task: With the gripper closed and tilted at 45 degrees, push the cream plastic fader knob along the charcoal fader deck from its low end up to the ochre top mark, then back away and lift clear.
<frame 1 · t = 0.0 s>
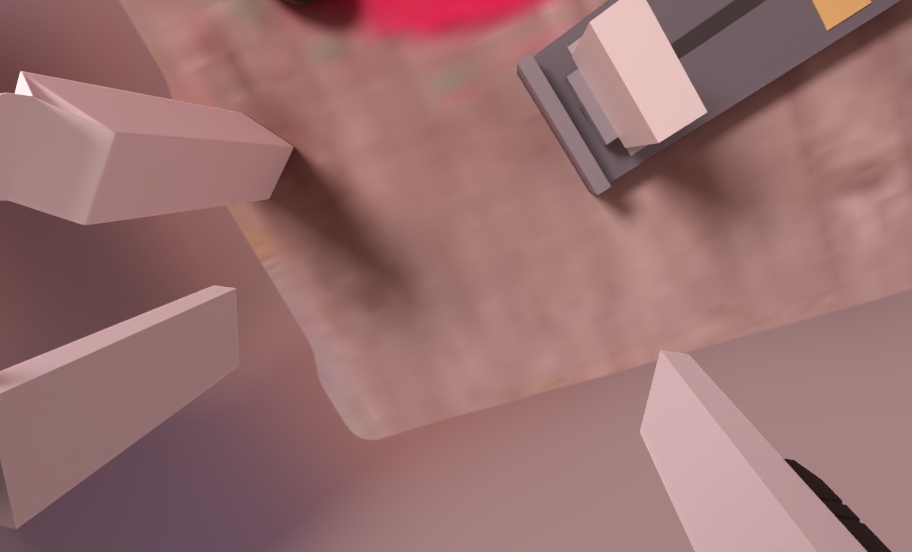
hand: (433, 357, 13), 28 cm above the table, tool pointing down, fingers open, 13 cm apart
fader deck: (696, 36, 34), on the table
fader knob: (627, 82, 29), point 7 cm above the table, slide at -8.0 cm
milk: (257, 157, 41), on the table
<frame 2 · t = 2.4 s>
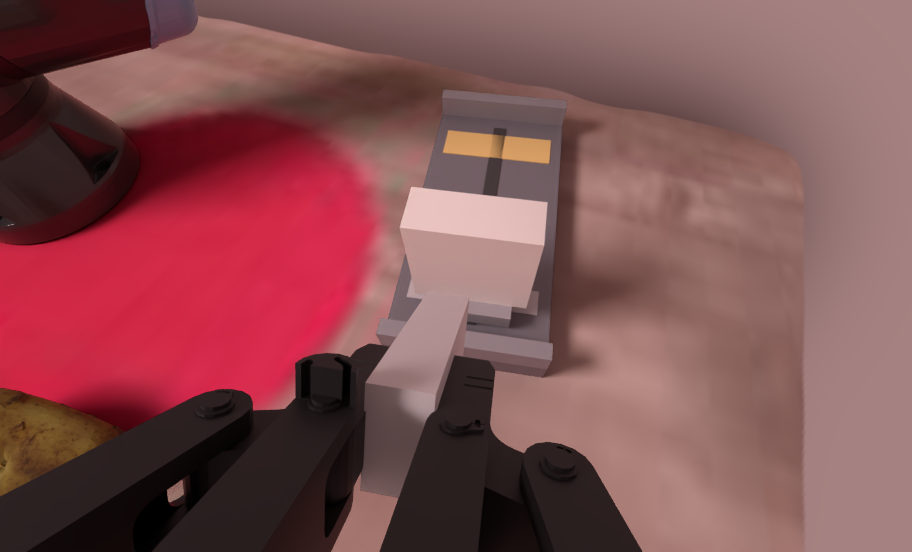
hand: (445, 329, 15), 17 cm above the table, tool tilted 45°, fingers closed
fader deck: (485, 226, 38), on the table
fader knob: (473, 259, 28), point 7 cm above the table, slide at -8.0 cm
potato: (54, 463, 29), on the table
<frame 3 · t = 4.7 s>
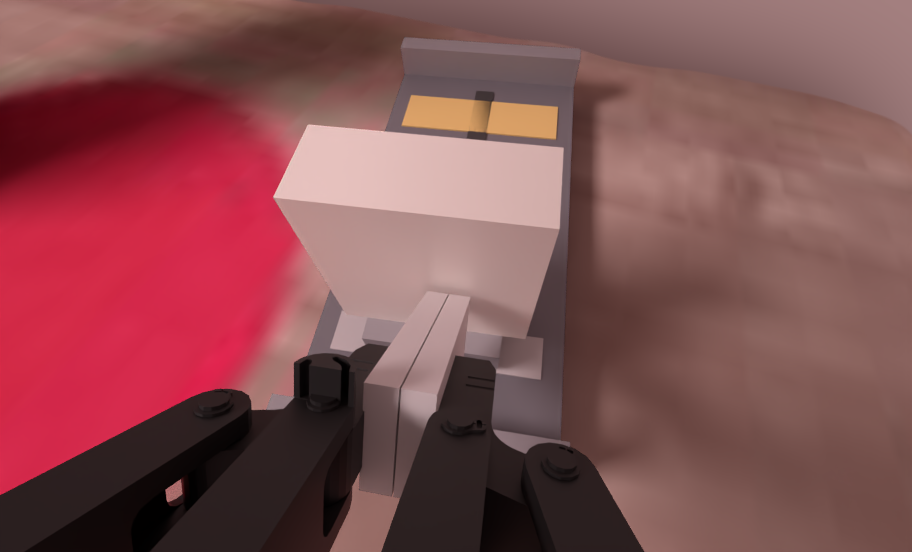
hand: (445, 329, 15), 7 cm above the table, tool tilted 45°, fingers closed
fader deck: (462, 232, 26), on the table
fader knob: (434, 258, 16), point 7 cm above the table, slide at -6.4 cm
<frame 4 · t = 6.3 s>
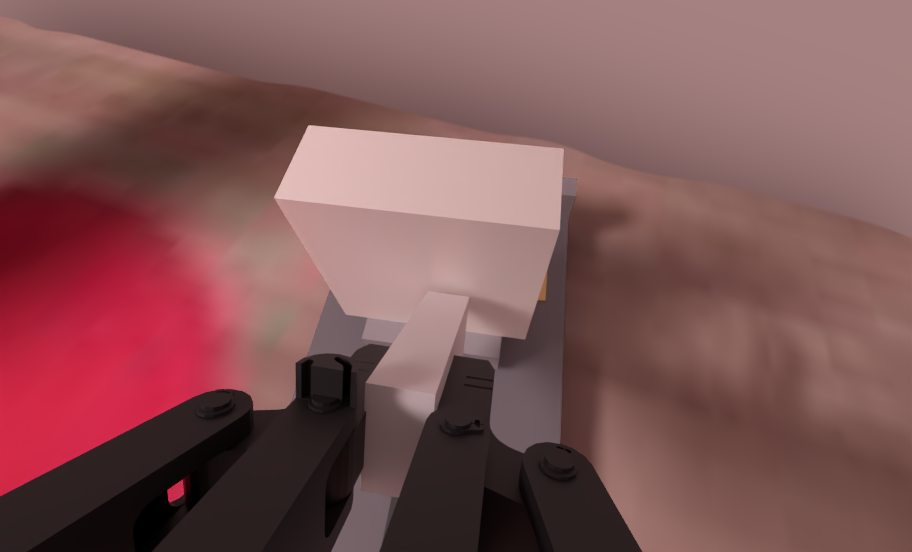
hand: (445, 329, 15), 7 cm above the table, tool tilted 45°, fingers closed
fader deck: (426, 426, 20), on the table
fader knob: (434, 259, 16), point 7 cm above the table, slide at 5.0 cm, touching gripper
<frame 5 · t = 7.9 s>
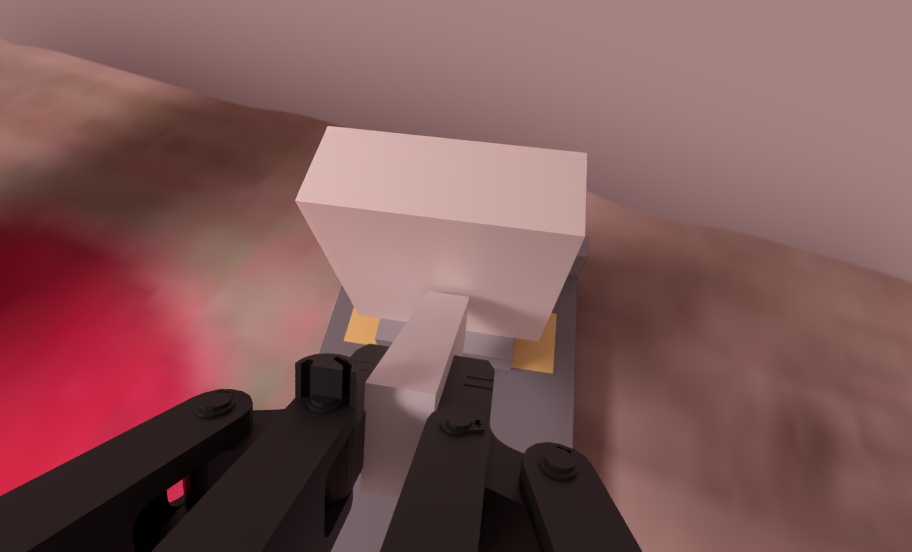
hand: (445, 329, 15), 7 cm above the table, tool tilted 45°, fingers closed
fader deck: (421, 512, 19), on the table
fader knob: (450, 260, 16), point 7 cm above the table, slide at 8.7 cm, touching gripper
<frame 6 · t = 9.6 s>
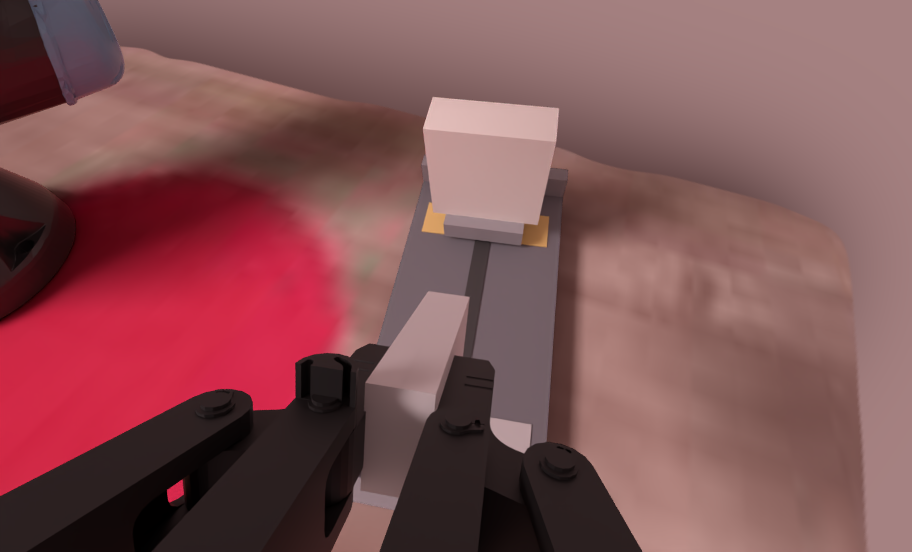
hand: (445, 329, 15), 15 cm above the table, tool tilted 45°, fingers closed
fader deck: (470, 323, 32), on the table
fader knob: (488, 173, 30), point 7 cm above the table, slide at 8.5 cm
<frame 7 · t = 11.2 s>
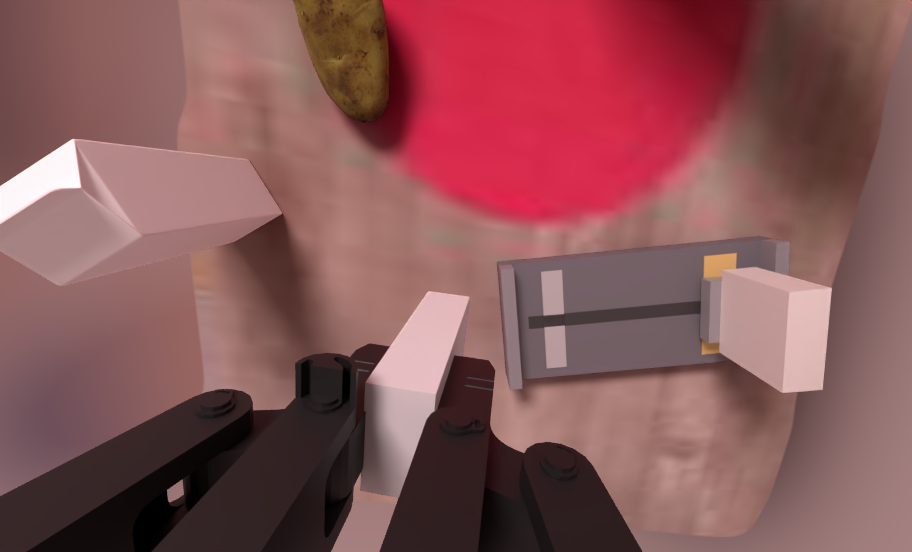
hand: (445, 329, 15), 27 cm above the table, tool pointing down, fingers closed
fader deck: (627, 306, 43), on the table
fader knob: (761, 321, 36), point 7 cm above the table, slide at 8.5 cm
potato: (355, 49, 38), on the table
milk: (242, 201, 41), on the table
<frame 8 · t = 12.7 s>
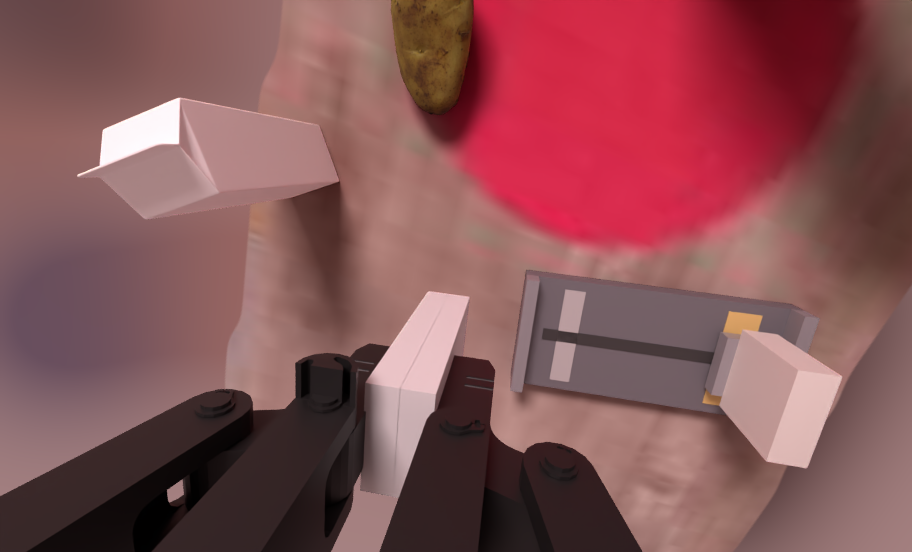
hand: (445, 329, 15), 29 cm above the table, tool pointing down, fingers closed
fader deck: (641, 340, 44), on the table
fader knob: (767, 388, 36), point 7 cm above the table, slide at 8.5 cm
potato: (438, 41, 40), on the table
milk: (306, 162, 45), on the table
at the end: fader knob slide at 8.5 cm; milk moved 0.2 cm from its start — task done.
